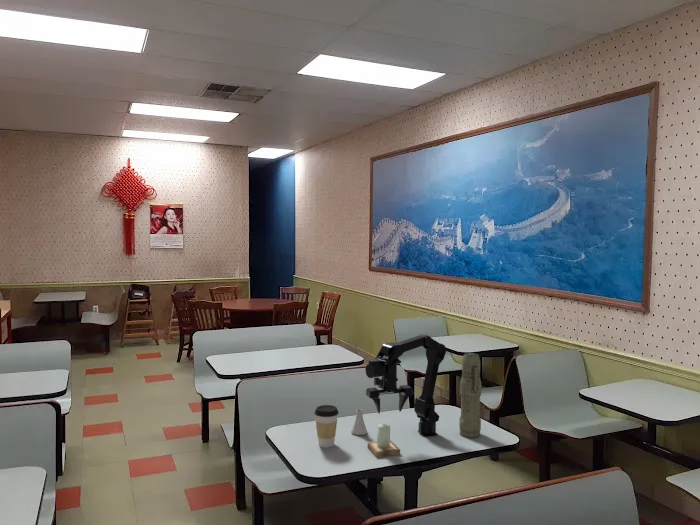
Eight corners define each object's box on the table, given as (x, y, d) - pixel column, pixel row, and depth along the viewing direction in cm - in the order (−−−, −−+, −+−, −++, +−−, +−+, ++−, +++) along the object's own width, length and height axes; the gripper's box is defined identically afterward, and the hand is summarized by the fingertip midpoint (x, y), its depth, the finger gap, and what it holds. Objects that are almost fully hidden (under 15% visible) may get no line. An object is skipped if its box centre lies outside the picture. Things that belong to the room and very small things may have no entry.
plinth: (390, 445, 229) (390, 440, 229) (400, 454, 220) (400, 449, 220) (367, 447, 226) (367, 442, 226) (375, 457, 217) (375, 452, 217)
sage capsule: (387, 443, 226) (387, 423, 226) (391, 447, 221) (392, 427, 221) (375, 444, 225) (375, 424, 224) (379, 449, 220) (380, 428, 219)
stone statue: (472, 428, 249) (473, 350, 247) (486, 438, 238) (487, 356, 236) (454, 430, 246) (455, 351, 244) (467, 440, 235) (468, 357, 233)
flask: (366, 436, 239) (366, 413, 238) (349, 435, 240) (349, 412, 240) (369, 430, 246) (369, 408, 245) (352, 429, 247) (352, 406, 247)
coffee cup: (341, 441, 233) (342, 406, 232) (333, 450, 223) (333, 413, 223) (319, 438, 236) (319, 403, 235) (310, 447, 227) (310, 410, 226)
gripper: (403, 368, 240) (403, 404, 241) (361, 371, 234) (361, 408, 235) (413, 374, 229) (413, 412, 230) (370, 378, 224) (370, 416, 225)
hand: (389, 412), depth 230 cm, fingers open, 9 cm apart
